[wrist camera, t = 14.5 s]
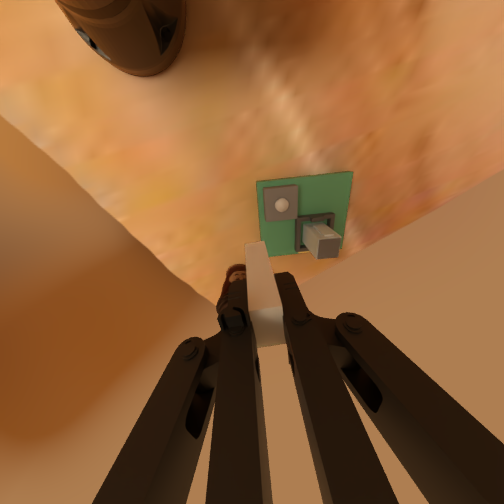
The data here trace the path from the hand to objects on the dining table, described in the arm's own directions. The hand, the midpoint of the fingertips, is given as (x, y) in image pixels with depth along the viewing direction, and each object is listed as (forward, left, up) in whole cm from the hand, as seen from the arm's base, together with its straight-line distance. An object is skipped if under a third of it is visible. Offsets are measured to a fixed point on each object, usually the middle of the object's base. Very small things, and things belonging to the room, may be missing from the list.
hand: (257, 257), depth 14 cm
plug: (+8, +13, -23) cm, 28 cm away
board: (+5, +11, -25) cm, 28 cm away
